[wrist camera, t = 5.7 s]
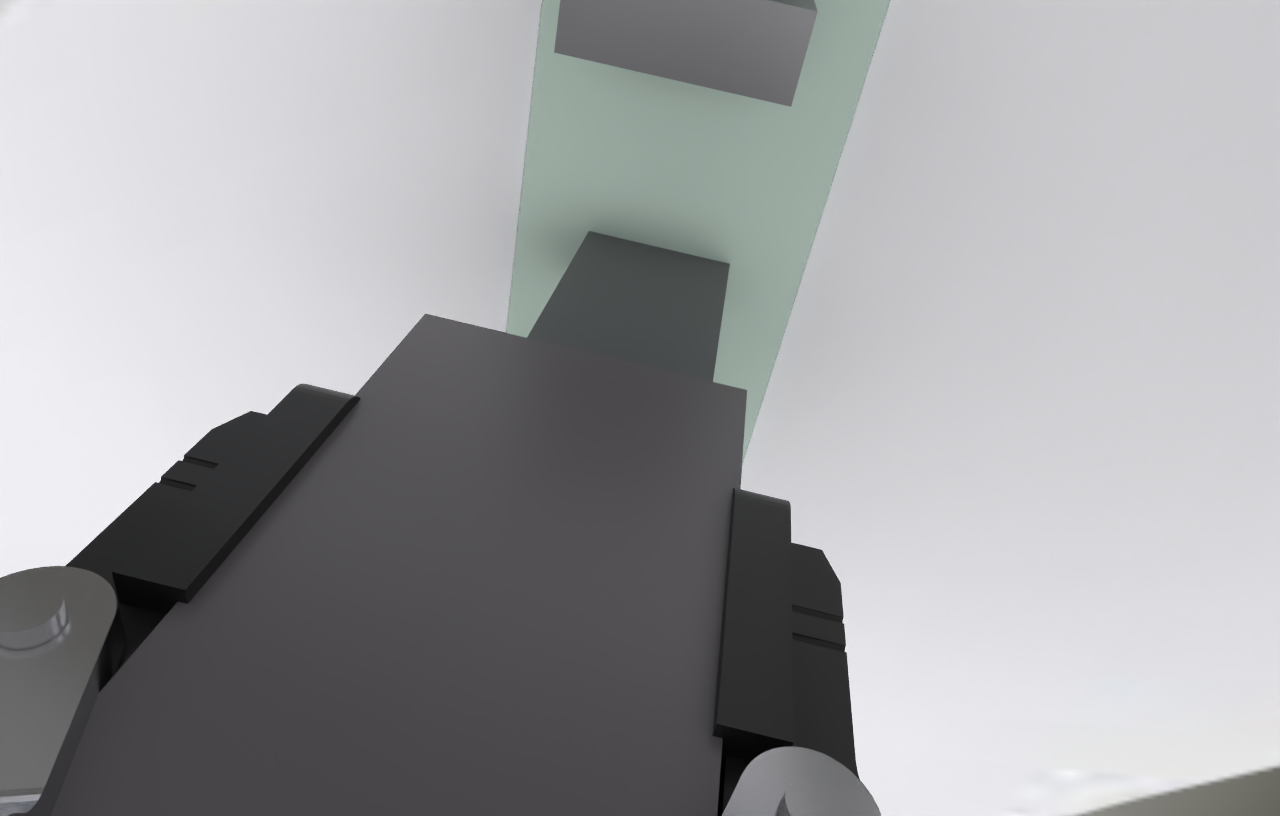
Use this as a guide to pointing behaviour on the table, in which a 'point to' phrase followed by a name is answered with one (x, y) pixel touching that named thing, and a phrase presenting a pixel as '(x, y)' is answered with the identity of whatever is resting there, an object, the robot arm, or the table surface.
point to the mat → (690, 178)
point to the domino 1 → (453, 607)
